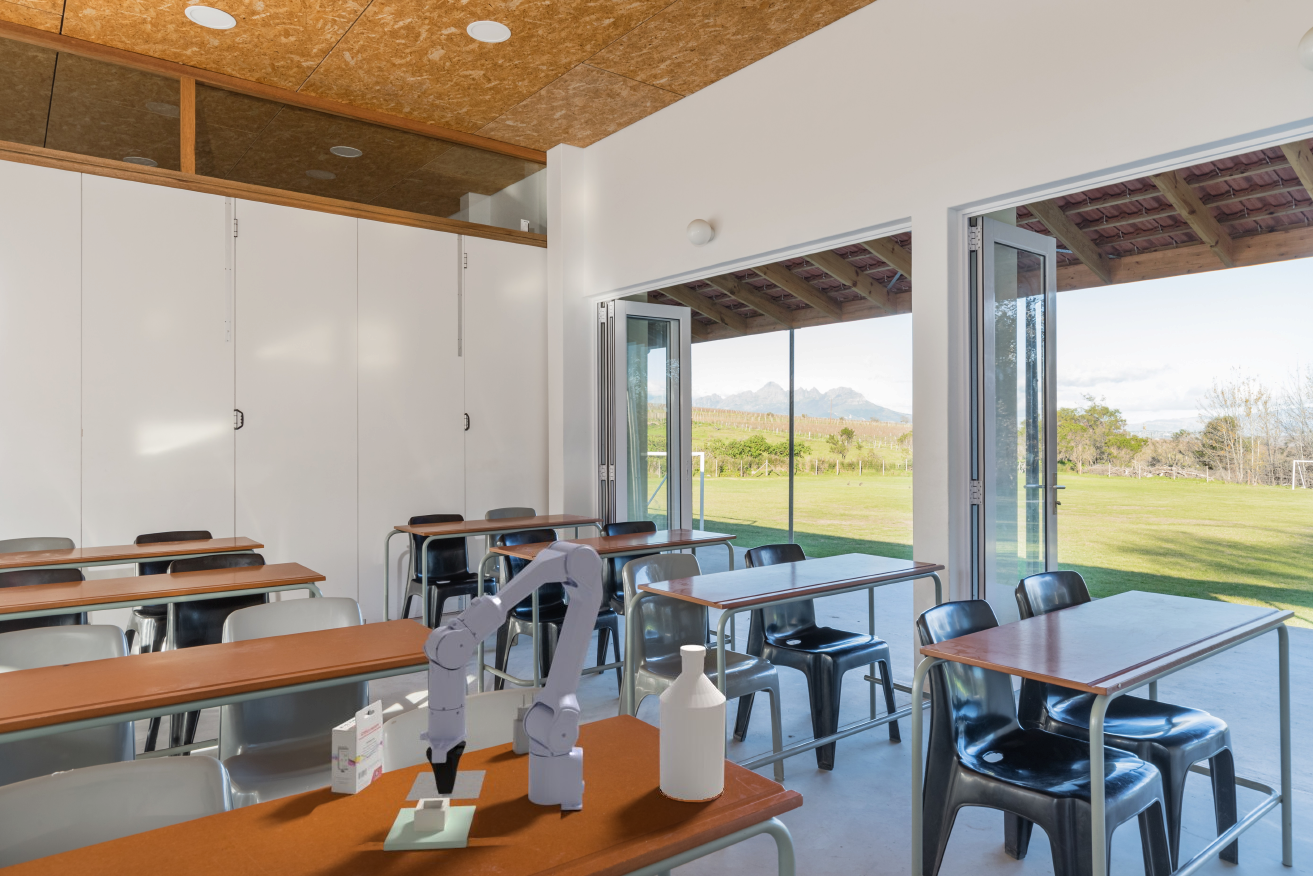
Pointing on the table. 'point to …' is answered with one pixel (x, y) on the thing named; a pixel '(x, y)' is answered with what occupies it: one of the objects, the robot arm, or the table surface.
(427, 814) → the cream ring
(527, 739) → the power adapter
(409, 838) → the sage hub plate
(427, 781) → the grey stand plate
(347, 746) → the ink cartridge box
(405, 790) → the table surface
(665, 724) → the bottle
